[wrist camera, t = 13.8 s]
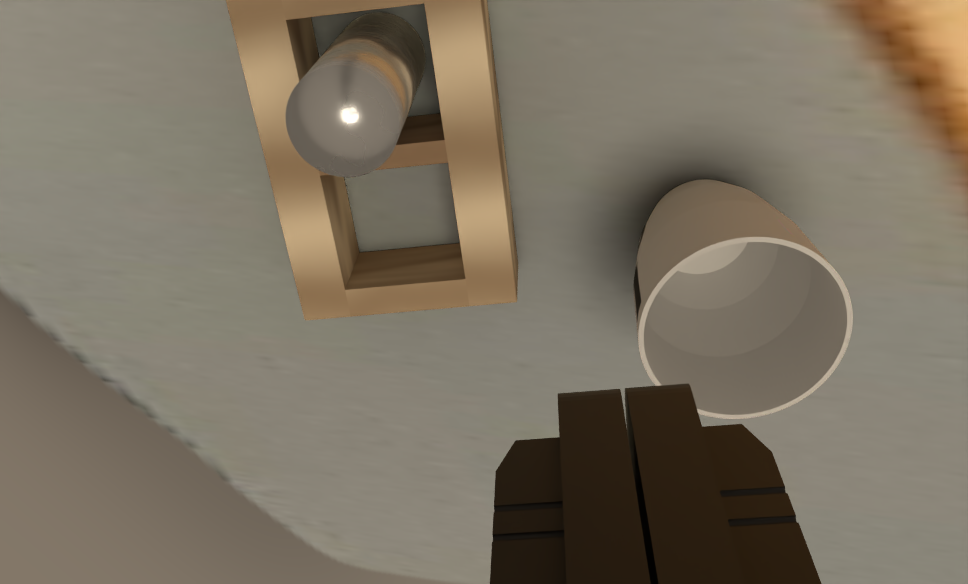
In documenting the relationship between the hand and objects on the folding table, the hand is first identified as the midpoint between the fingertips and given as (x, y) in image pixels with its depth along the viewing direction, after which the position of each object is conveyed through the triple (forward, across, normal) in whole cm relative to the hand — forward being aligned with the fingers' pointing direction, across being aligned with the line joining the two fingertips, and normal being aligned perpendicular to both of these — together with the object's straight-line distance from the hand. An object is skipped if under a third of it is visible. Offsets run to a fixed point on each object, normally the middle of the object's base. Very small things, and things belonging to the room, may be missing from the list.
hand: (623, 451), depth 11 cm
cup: (+32, -6, +12) cm, 35 cm away
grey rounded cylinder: (+32, +8, +2) cm, 33 cm away
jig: (+32, +8, +6) cm, 33 cm away
